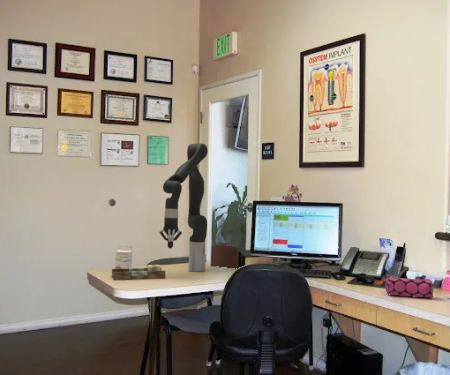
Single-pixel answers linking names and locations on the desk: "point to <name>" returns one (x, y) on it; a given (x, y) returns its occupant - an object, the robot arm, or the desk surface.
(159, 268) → the maple block
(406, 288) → the pencil case
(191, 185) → the robot arm
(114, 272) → the tunnel deck
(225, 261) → the letter holder
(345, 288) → the desk surface
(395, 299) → the desk surface
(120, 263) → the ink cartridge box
